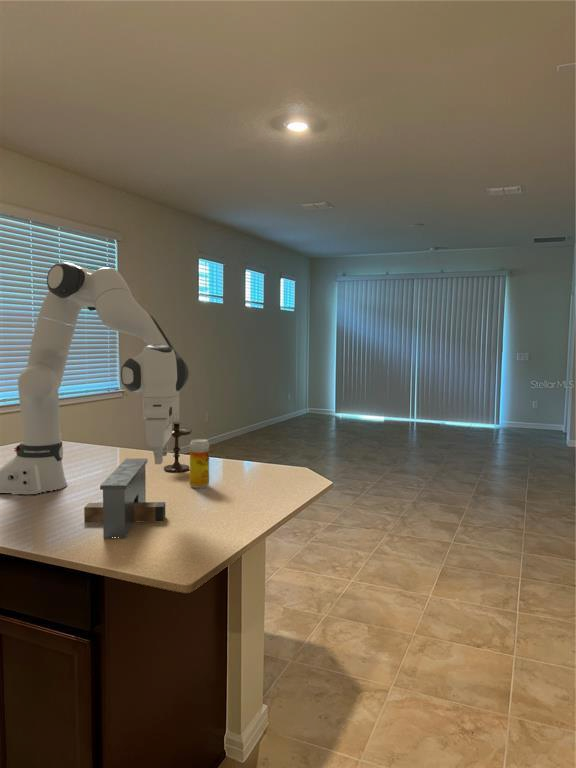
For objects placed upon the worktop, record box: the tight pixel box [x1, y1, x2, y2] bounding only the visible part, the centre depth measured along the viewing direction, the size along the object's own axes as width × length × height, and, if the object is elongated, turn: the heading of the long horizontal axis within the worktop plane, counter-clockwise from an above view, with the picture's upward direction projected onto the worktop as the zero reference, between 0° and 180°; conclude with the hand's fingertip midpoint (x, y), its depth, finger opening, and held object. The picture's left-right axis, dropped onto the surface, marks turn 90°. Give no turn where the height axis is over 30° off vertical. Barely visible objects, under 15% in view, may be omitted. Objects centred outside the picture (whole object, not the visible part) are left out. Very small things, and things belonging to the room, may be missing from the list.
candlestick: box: [163, 390, 193, 474], centre depth 198 cm, size 11×11×35 cm
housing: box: [99, 458, 148, 539], centre depth 143 cm, size 6×29×13 cm, turn 5°
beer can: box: [189, 438, 210, 489], centre depth 177 cm, size 6×6×15 cm
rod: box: [83, 501, 166, 523], centre depth 144 cm, size 20×4×4 cm, turn 95°
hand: (161, 459), depth 144 cm, fingers open, 8 cm apart
